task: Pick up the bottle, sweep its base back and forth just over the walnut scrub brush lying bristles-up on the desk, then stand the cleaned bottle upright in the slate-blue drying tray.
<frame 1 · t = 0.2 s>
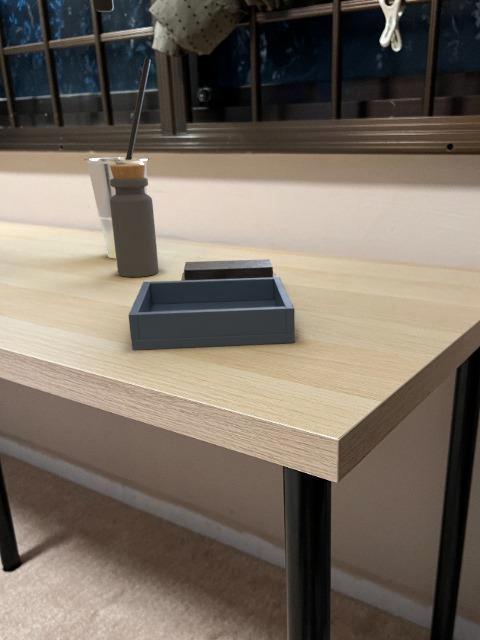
hand: (98, 4, 69), 32 cm above the table, tool pointing down, fingers open, 8 cm apart
bottle: (138, 274, 90), on the table
scrub brush: (229, 291, 79), on the table
glass: (130, 255, 103), on the table
drying tray: (214, 325, 65), on the table
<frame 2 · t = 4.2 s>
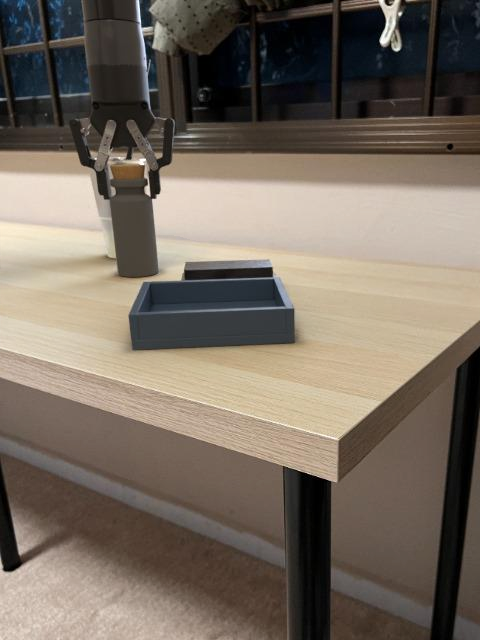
hand: (130, 198, 86), 11 cm above the table, tool pointing down, fingers closed on bottle, 5 cm apart
bottle: (138, 274, 90), on the table, touching gripper
everything else where it was.
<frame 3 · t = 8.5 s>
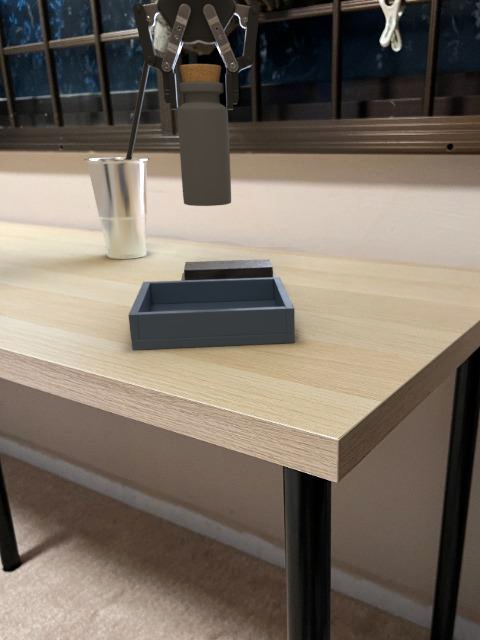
hand: (202, 108, 70), 22 cm above the table, tool pointing down, fingers closed on bottle, 5 cm apart
bottle: (207, 205, 75), point 11 cm above the table, touching gripper
everything else where it was.
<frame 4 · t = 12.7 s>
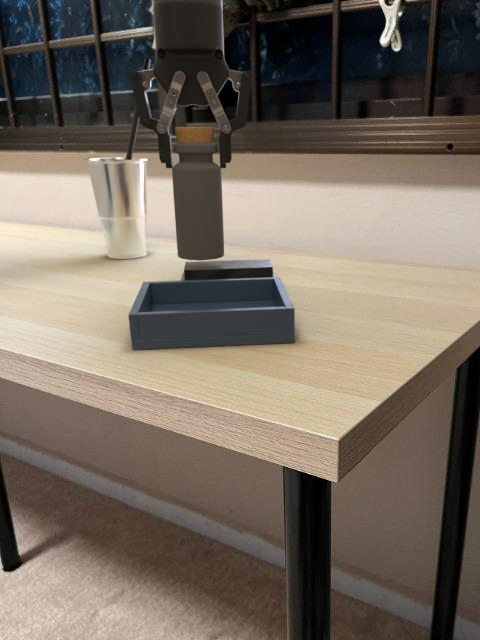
hand: (196, 167, 73), 15 cm above the table, tool pointing down, fingers closed on bottle, 5 cm apart
bottle: (201, 257, 77), point 4 cm above the table, touching gripper
everything else where it was.
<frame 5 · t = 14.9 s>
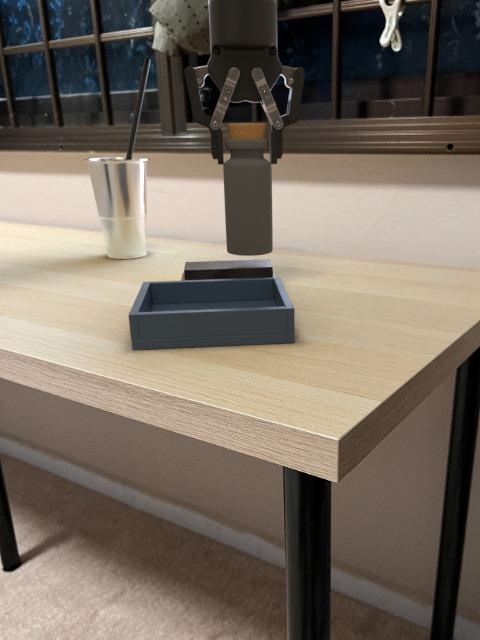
hand: (247, 163, 73), 16 cm above the table, tool pointing down, fingers closed on bottle, 5 cm apart
bottle: (249, 253, 77), point 5 cm above the table, touching gripper
everything else where it was.
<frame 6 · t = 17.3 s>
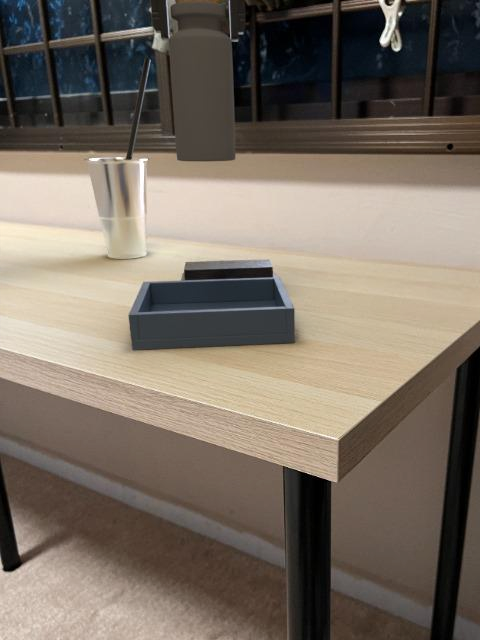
hand: (200, 39, 57), 27 cm above the table, tool pointing down, fingers closed on bottle, 5 cm apart
bottle: (206, 162, 61), point 16 cm above the table, touching gripper
everything else where it was.
when the fingers open (12 cm above the table, at t = 21.3 s): bottle stays where it is, resting on drying tray.
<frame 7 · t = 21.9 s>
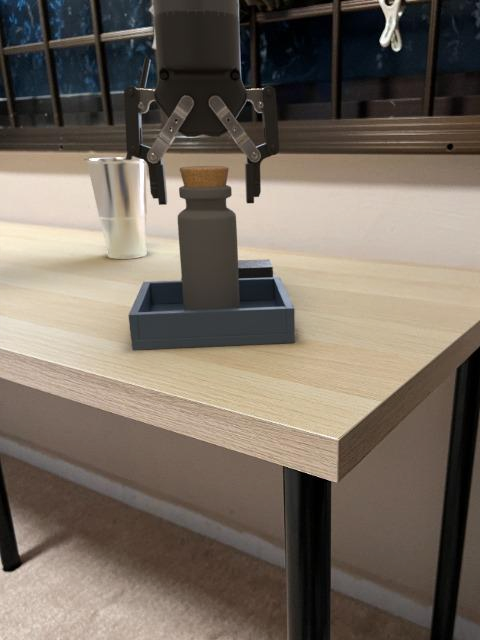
hand: (207, 203, 60), 13 cm above the table, tool pointing down, fingers open, 8 cm apart
bottle: (212, 318, 65), point 1 cm above the table, touching drying tray
everything else where it was.
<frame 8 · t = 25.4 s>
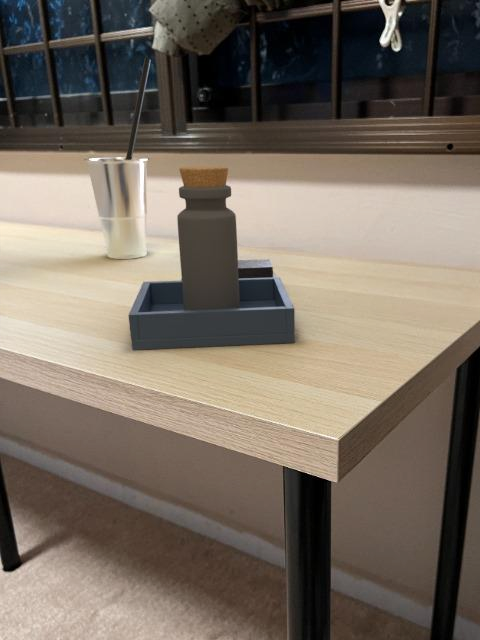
nothing on the table moved.
at the end: bottle inside the target area in the drying tray (0.1 cm from its centre), point 0.8 cm above the drying tray's base; bottle tilted 0°; the gripper is holding nothing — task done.
